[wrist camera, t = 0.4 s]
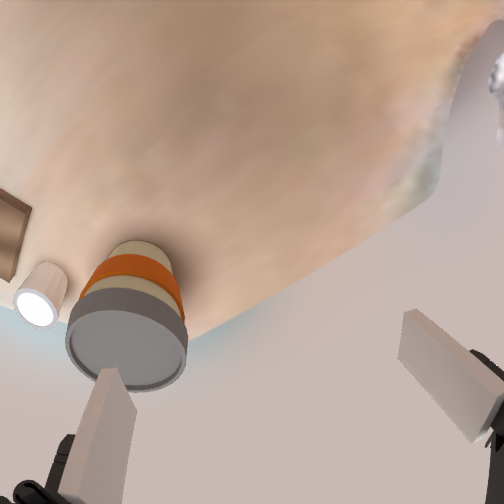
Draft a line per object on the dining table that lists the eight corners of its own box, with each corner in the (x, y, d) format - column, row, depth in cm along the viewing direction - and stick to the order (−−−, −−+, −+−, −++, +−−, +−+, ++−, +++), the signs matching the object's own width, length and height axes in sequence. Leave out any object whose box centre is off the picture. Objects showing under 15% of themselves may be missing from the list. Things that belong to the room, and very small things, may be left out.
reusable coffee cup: (193, 236, 38) (200, 318, 25) (177, 312, 43) (180, 399, 30) (96, 219, 34) (55, 295, 21) (94, 299, 39) (71, 383, 27)
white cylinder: (25, 279, 35) (7, 310, 29) (41, 249, 34) (21, 278, 28) (60, 305, 39) (47, 338, 33) (79, 277, 37) (65, 310, 31)
